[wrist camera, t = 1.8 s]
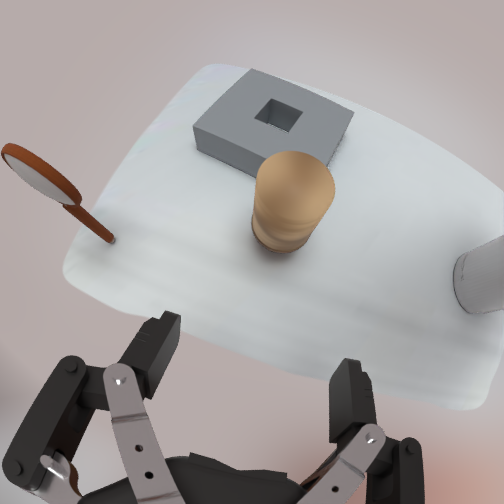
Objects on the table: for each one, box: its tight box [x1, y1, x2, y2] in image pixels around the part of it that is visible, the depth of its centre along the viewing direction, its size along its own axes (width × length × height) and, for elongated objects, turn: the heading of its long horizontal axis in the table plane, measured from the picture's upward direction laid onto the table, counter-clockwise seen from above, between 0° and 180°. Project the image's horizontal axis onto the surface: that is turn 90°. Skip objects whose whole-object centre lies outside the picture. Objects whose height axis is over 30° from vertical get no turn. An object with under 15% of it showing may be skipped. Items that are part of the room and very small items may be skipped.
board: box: [193, 69, 354, 178], centre depth 34 cm, size 16×14×5 cm
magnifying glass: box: [1, 143, 115, 243], centre depth 22 cm, size 9×2×20 cm, turn 68°
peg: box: [251, 151, 335, 253], centre depth 26 cm, size 6×6×13 cm
